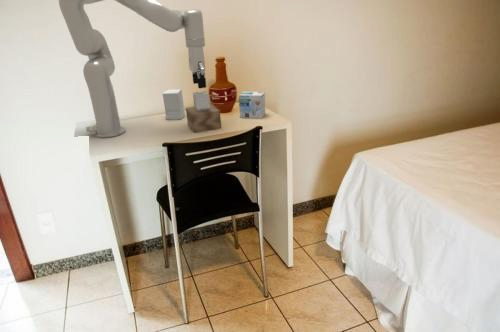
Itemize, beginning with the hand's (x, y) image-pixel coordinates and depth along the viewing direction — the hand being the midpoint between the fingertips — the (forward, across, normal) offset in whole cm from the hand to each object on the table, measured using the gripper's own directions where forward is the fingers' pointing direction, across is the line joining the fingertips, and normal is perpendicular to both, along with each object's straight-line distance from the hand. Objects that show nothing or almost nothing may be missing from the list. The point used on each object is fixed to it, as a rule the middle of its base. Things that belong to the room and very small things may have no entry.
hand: (199, 85), depth 166 cm
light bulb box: (+18, -4, +24) cm, 31 cm away
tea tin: (+10, 0, 0) cm, 10 cm away
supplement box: (+18, -20, -9) cm, 29 cm away
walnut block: (+18, 0, 0) cm, 18 cm away
